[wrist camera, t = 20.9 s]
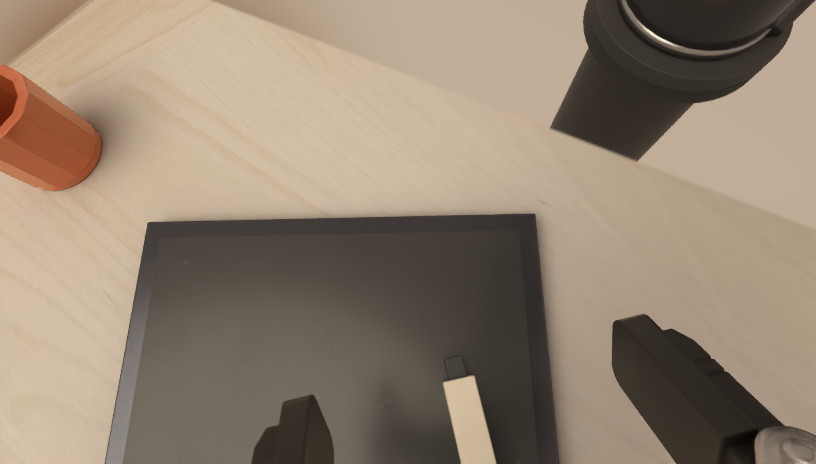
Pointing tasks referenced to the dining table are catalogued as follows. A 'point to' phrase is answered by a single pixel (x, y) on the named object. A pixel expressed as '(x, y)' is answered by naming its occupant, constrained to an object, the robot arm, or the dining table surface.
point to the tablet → (335, 337)
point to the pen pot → (42, 136)
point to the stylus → (467, 414)
